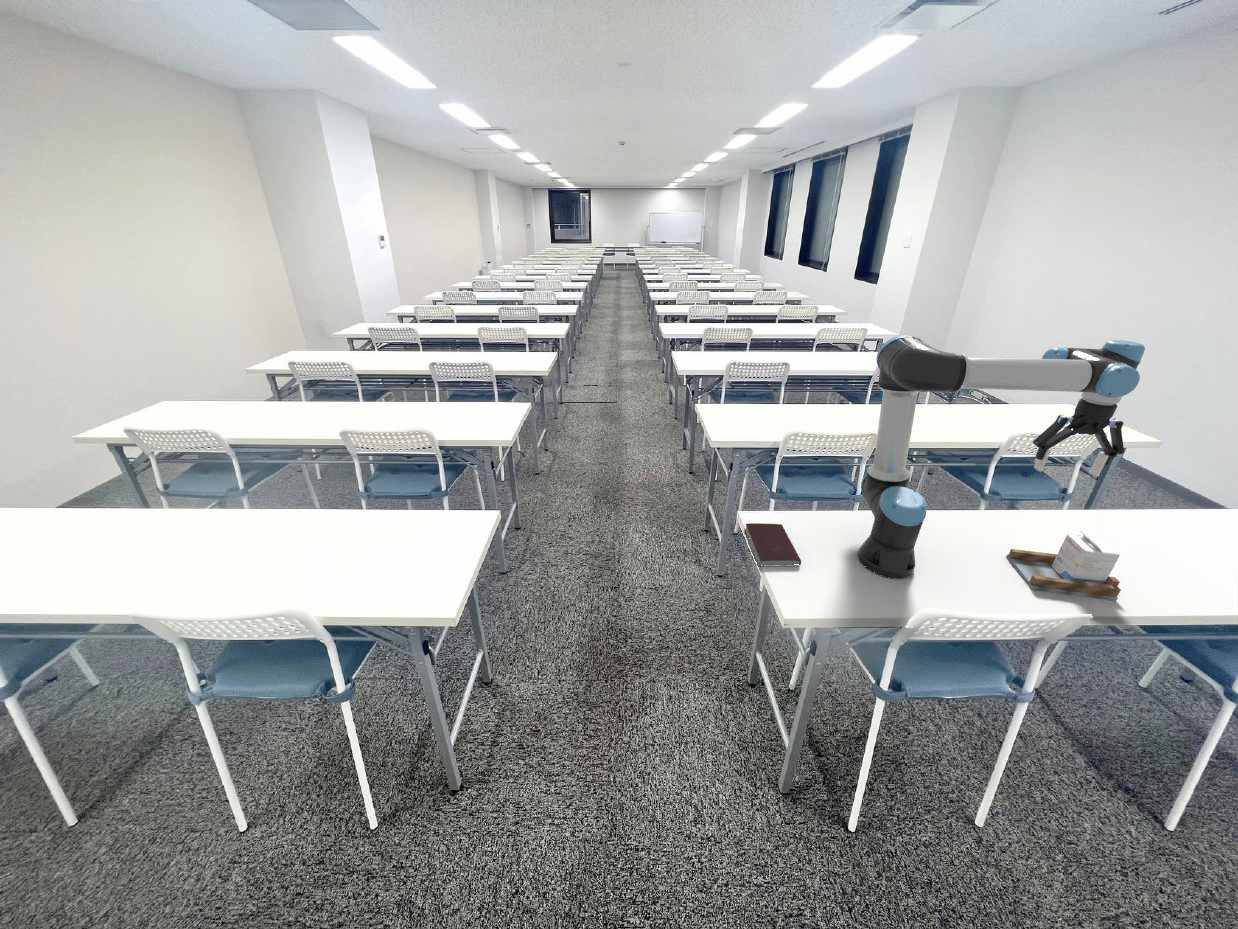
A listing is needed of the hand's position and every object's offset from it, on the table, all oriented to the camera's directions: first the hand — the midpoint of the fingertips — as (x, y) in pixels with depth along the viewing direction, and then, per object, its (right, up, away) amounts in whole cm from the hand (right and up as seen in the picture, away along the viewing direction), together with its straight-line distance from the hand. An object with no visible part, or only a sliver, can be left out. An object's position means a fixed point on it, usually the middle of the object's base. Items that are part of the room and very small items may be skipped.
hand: (1065, 472), depth 135 cm
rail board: (0, -31, +3) cm, 31 cm away
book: (-79, -25, +17) cm, 84 cm away
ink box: (+4, -30, +2) cm, 31 cm away
